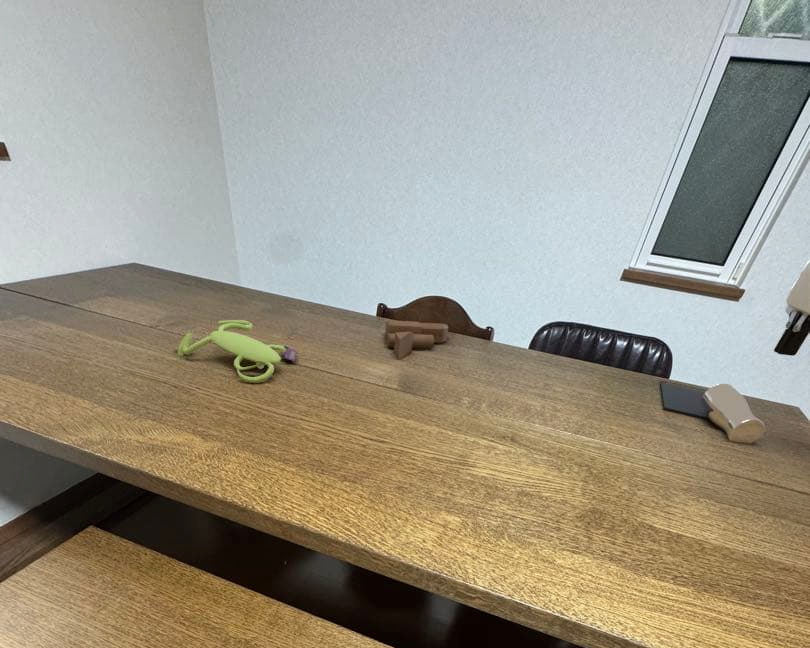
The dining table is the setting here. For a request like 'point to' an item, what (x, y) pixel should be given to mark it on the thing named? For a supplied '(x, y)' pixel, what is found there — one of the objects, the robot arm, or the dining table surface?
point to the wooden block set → (413, 335)
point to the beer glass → (731, 414)
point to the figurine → (241, 348)
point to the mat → (682, 401)
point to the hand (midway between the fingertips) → (784, 353)
